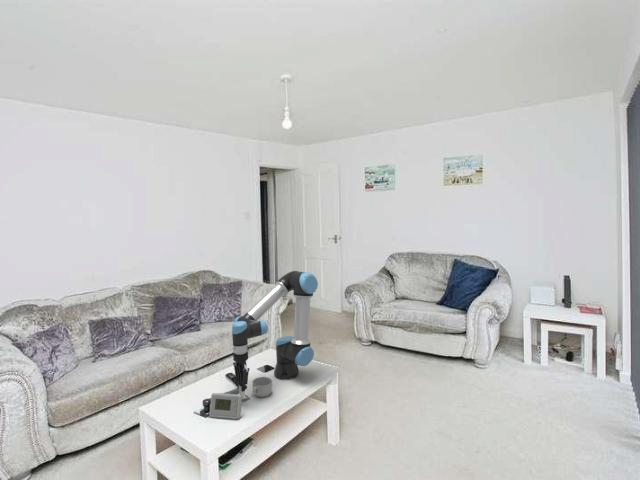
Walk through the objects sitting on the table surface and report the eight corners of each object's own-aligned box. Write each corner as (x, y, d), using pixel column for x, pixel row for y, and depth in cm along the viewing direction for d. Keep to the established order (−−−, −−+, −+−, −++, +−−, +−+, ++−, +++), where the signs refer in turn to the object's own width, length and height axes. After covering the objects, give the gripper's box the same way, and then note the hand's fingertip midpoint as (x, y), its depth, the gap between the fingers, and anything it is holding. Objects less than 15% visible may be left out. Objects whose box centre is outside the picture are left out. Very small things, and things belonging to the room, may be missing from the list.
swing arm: (204, 407, 180) (204, 403, 180) (201, 404, 183) (201, 400, 183) (244, 392, 195) (244, 388, 194) (240, 390, 198) (240, 386, 198)
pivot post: (210, 407, 188) (210, 400, 188) (216, 412, 183) (216, 405, 183) (197, 412, 184) (197, 404, 183) (203, 418, 178) (203, 410, 178)
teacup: (262, 388, 208) (262, 374, 208) (276, 393, 202) (276, 379, 201) (244, 398, 197) (243, 384, 196) (258, 404, 191) (258, 389, 190)
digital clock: (207, 417, 179) (206, 396, 178) (218, 408, 187) (218, 388, 187) (235, 423, 173) (234, 402, 172) (245, 414, 181) (244, 393, 181)
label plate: (244, 394, 201) (244, 393, 201) (250, 398, 196) (250, 397, 196) (231, 400, 195) (231, 398, 195) (237, 404, 191) (236, 402, 191)
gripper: (227, 350, 190) (229, 394, 192) (240, 357, 180) (242, 403, 182) (240, 347, 195) (242, 389, 197) (253, 353, 185) (255, 398, 187)
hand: (242, 396), depth 189 cm, fingers closed
